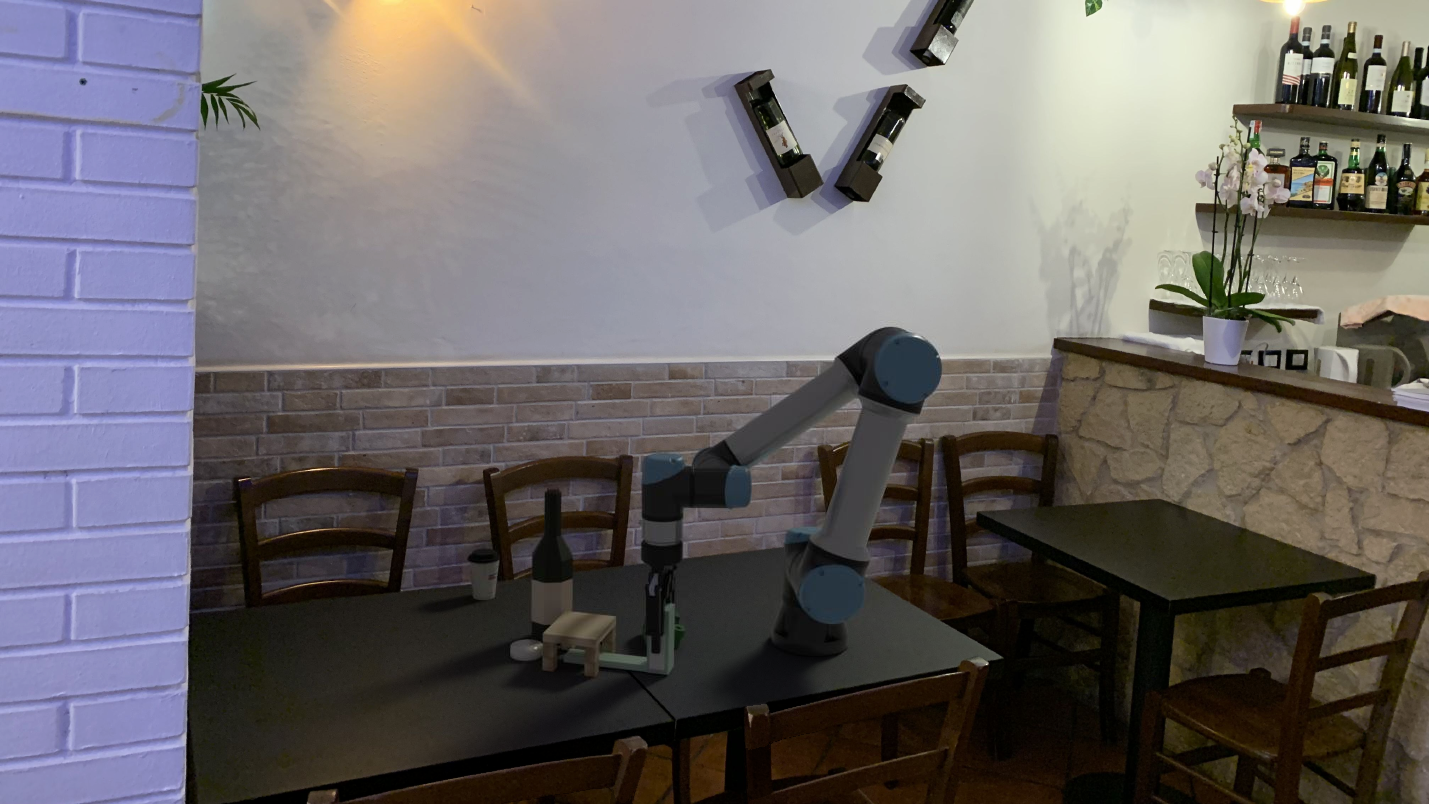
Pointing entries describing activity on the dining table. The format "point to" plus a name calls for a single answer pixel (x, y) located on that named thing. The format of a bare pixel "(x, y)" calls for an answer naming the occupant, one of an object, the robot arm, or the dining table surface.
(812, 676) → the dining table surface
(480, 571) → the coffee cup
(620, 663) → the l-shaped bracket
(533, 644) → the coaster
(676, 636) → the clamp
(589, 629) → the riser
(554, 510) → the wine bottle
